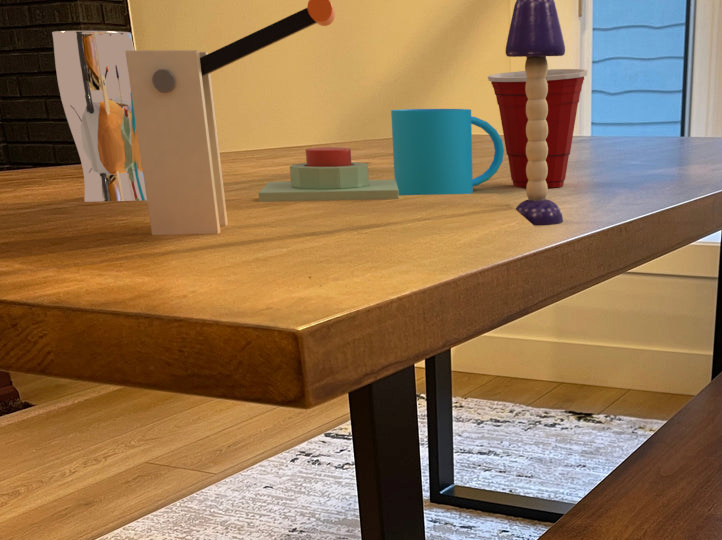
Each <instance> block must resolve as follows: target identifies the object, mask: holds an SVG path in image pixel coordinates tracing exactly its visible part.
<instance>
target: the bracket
mask: <svg viewBox="0 0 722 540" xmlns="http://www.w3.org/2000/svg"><path fill="white" fill-rule="evenodd" d="M125 52H126V59H127V66H128V73H129V80H130V87H131V94H132V100H133V107H134V114H135V121H136V128H137V135H138V142H139V149H140V155H141V162H142V169H143V176H144V183H145V190H146V197H147V200H146V205H147V210H148V217H149V224H150V230H151V235H152V236H173V235H174V236H175V235H177V236H178V235H180V236H181V235H214V234H215V235H216V234H220V233H221V227H227V226H228V224H229V223H228V213H227V204H226V196H225V188H224V180H223V169H222V163H221V154H220V153H221V152H220V145H219V137H218V136H219V135H218V129H217V128H218V127H217V120H216V119H217V118H216V110H215V103H214V93H213V83H212V75H211V73H210V74H207V75H205V76H203V77H202V73H201V65H200V58H201V57H203V56H205V55H207V54H209V52H207V51H199V50H197V49H180V50H179V49H168V50H167V49H166V50H164V49H162V50H161V49H160V50H159V49H155V50H154V49H153V50H152V49H151V50H150V49H149V50H148V49H147V50H146V49H145V50H143V49H142V50H141V49H140V50H139V49H138V50H137V49H134V50H126V51H125Z"/></svg>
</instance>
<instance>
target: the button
mask: <svg viewBox="0 0 722 540" xmlns="http://www.w3.org/2000/svg"><path fill="white" fill-rule="evenodd" d="M305 159H306V160H305V161H306V163H307V166H309V167H338V166H350V165H352V163H351V162H352V151H351V148H350V147H337V146H336V147H332V146H331V147H330V146H329V147H310V148H309V147H308V148H306V149H305Z"/></svg>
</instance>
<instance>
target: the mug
mask: <svg viewBox="0 0 722 540" xmlns="http://www.w3.org/2000/svg"><path fill="white" fill-rule="evenodd" d="M390 114H391V118H390V119H391V133H392V134H391V135H392V155H393V157H392V158H393V174H394V180H396V183H397V187H398V192H399V196H435V195H436V196H437V195H438V196H439V195H440V196H441V195H444V196H445V195H471V194H473V193H474V187H477V186H479V185H481V184H483V183H485V182H487V181H489V180H490V179H491V178H492V177H493V176H494V175H495V174H496V173H497V172H498V170H499V169H500V167H501V165H502V163H503V161H504V153H505V149H504V143H503V139H502V138H501V136H500V134H499V132H498V130H497V128H494V126H492V125H491V124H490V123H489V122H488V121H486V120H483V119H481V118H479V117H476V116H472V109H470V108H406V109H405V108H404V109H403V108H402V109H391V111H390ZM472 125H474V126H476V127H478V128H481V129H482V130H483V131H484V132H485V133H486V134H488V136H489V137H490V140H491V141H492V143H493V148H494V153H493V159H492V162H491V163H490V165H489V167H488V169H486V170H485V171H484V172H483V173H481V174H479V175H478V176H476V177H473V137H472V134H473V133H472Z"/></svg>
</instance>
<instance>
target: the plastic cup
mask: <svg viewBox="0 0 722 540" xmlns="http://www.w3.org/2000/svg"><path fill="white" fill-rule="evenodd" d="M587 75H588V69H581V68H557V69H556V68H555V69H553V68H552V69H548V72H547V75H546V77H545V79H546V81H547V84H548V93H547V96H546V101H547V105H548V114H547V117H546V121H547V124H548V135H547V138H546V142H547V146H548V154H547V158H546V160H545V161H546V163H547V167H548V173H547V177H546V180H545V181H546V183H547V187H548V189H550V188H552V189H553V188H561V187H564V183H565V180H566V176H567V170H568V164H569V157H570V155H571V149H572V143H573V138H574V133H575V132H574V131H575V126H576V125H575V124H576V118H577V112H578V106H579V103H580V98H581V93H582V90H583V89H582V88H583V84H584V81H585V77H587ZM527 79H528V78H527V75H526V72H525V70H522V71H521V70H520V71H519V70H518V71H509V72H499V73H494V74H488V75H487V80H488V82H490V83H491V85H492V88H493V91H494V95H495V97H496V103H497V105H498V110H499V116H500V121H501V122H500V123H501V129H502V134H503V140H504V144H505V145H504V146H505V151H506V155H507V157H508V158H507V160H508V165H509V172H510V179H511V181H512V186H513V187H515V188H523V189H526V187H527V183H528V178H527V175H526V166H527V163H528V158H527V156H526V145H527V142H528V138H527V135H526V125H527V122H528V118H527V115H526V103H527V101H528V98H527V95H526V90H525V88H526V82H527Z"/></svg>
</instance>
